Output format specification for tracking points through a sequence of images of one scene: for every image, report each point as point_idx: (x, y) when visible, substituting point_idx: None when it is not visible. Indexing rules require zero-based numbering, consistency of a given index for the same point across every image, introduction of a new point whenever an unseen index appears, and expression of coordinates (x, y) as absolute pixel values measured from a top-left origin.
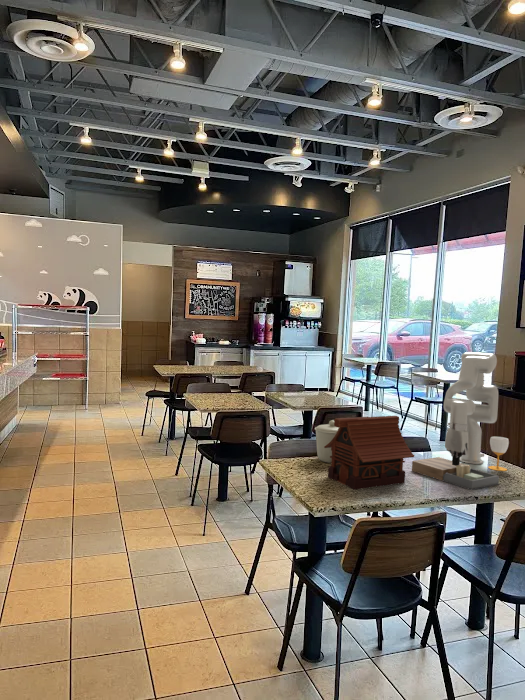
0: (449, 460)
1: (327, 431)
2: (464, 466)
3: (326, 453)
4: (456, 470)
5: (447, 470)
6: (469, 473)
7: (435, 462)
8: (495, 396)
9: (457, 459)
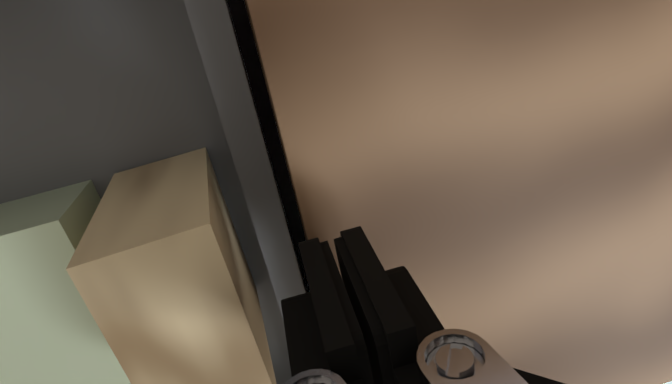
0: (628, 381)
1: None
2: (105, 334)
3: None
4: None
5: (250, 17)
6: None
7: (666, 128)
8: None
9: (296, 361)
